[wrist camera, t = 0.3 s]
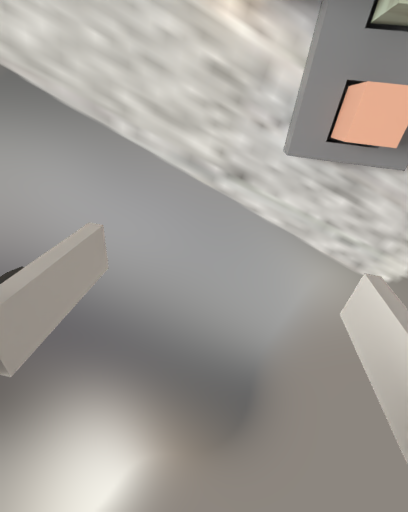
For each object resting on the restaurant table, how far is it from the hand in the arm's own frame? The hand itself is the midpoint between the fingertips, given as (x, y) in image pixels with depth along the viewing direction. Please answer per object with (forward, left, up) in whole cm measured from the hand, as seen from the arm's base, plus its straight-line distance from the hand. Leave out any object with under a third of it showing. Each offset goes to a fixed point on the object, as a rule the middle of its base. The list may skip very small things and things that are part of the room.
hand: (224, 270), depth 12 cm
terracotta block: (-8, +13, -23) cm, 28 cm away
